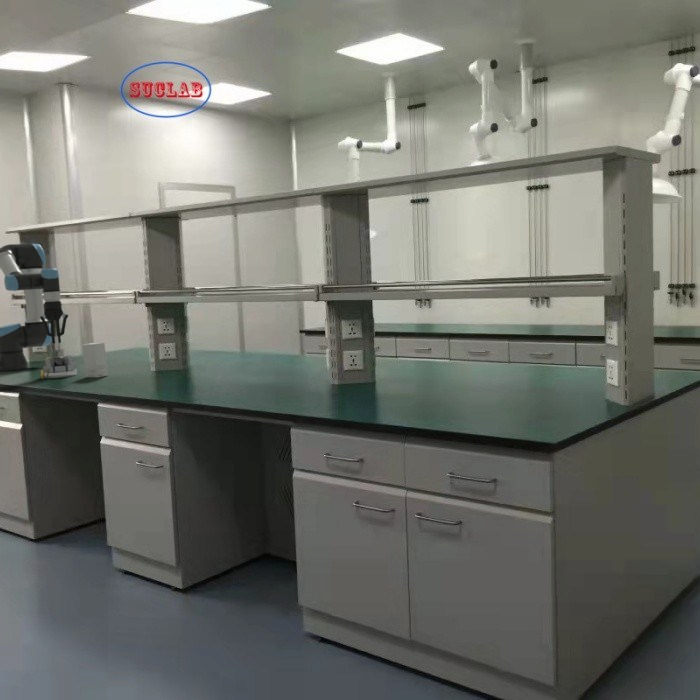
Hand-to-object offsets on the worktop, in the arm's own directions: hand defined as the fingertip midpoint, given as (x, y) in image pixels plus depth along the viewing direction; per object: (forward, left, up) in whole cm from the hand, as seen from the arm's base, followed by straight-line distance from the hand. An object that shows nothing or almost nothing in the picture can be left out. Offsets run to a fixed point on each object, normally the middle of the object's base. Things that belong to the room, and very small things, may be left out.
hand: (57, 350), depth 365 cm
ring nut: (+6, 0, -9) cm, 11 cm away
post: (+10, -8, -12) cm, 17 cm away
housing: (+6, 0, -12) cm, 13 cm away
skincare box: (+22, +15, -12) cm, 29 cm away
